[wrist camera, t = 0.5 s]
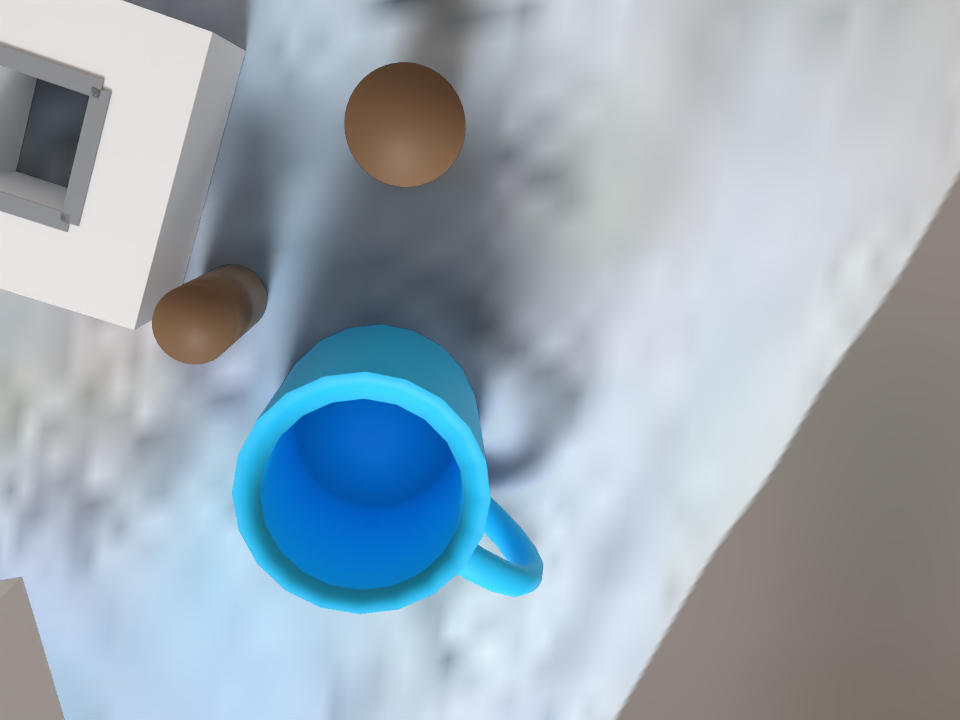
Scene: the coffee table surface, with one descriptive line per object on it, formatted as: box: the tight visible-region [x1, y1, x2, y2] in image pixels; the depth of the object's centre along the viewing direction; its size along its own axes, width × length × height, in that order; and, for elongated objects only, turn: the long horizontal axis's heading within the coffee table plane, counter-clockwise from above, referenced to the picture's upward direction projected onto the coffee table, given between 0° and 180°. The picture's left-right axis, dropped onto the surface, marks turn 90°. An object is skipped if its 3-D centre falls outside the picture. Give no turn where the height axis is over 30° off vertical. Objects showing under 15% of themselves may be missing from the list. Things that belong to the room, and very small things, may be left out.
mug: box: [232, 324, 543, 614], centre depth 33 cm, size 12×8×8 cm
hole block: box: [0, 0, 246, 330], centre depth 31 cm, size 10×10×5 cm
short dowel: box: [152, 265, 267, 364], centre depth 32 cm, size 3×3×6 cm
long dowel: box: [345, 62, 465, 187], centre depth 27 cm, size 3×3×15 cm
